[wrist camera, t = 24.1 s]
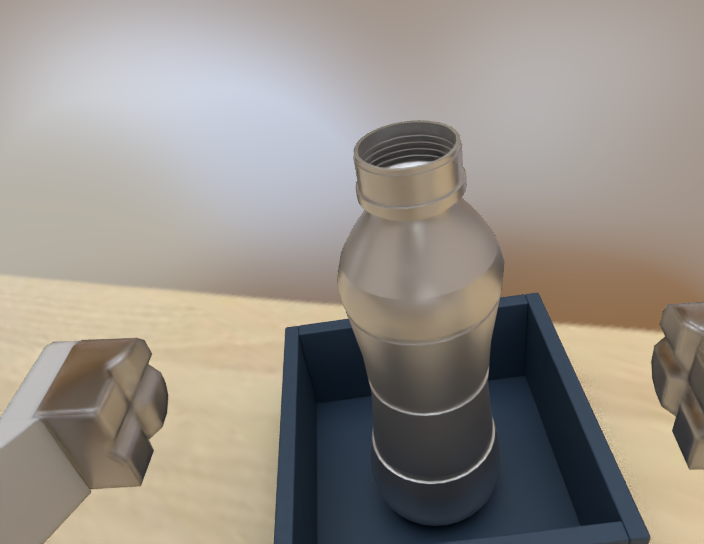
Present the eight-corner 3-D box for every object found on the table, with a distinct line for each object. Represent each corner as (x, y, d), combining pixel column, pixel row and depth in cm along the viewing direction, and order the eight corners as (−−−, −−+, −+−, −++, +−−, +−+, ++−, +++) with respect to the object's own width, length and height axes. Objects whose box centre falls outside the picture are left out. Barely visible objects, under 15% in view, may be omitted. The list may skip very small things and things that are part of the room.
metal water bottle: (351, 483, 33) (271, 155, 21) (440, 413, 36) (414, 89, 24) (434, 571, 29) (393, 222, 17) (528, 484, 32) (550, 131, 20)
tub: (303, 651, 28) (271, 582, 24) (306, 401, 39) (285, 327, 35) (628, 614, 27) (651, 537, 23) (533, 371, 39) (538, 291, 35)
